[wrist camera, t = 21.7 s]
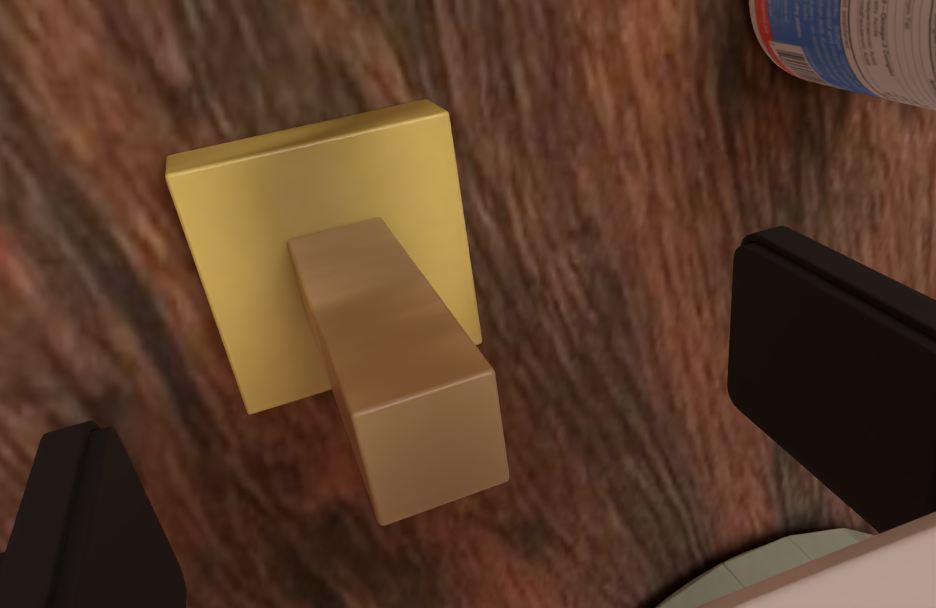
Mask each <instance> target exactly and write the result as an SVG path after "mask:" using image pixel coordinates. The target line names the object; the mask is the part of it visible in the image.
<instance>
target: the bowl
mask: <svg viewBox="0 0 936 608" xmlns="http://www.w3.org/2000/svg"><path fill="white" fill-rule="evenodd" d="M873 536H875V535H872V534H868V533H863V532H859V531H855V530H851V529H847V528H838V529H831V530H824V531H817V532H810V533H803V534H796V535H789V536H788V537H783V538H781V539H779V540H776V541H774V542H771V543H769V544H766V545H763V546H760V547H757V548H755V549H752V550H749V551H746V552H744V553H741V554H739V555H737V556H735V557H733V558H731V559H729V560H727V561H725V562H722V563H720V564H718V565H717V566H715V567H713V568H712V569H710V570H708V571H706V572H705V573H703V574H701V575H699V576H698V577H696V578H694V579H693V580H692V581H690V582H689V583H687V584H686V585H684V586H683V587H681V588H680V589H678V590H677V591H676V592H674V593H673V594H671V595H670V596H669V597H668V598H666V599H665V600H664V601H663V602H661V603H660V604H659V605H658V606H656V607H655V608H695V607H698V606H700V605H703V604H705V603H708V602H710V601H713V600H715V599H718V598H720V597H723V596H725V595H728V594H730V593H733V592H735V591H738V590H740V589H743V588H745V587H748V586H750V585H753V584H755V583H758V582H760V581H763V580H765V579H768V578H770V577H773V576H775V575H778V574H780V573H782V572H785V571H787V570H790V569H792V568H795V567H797V566H800V565H802V564H805V563H807V562H810V561H812V560H815V559H817V558H820V557H822V556H825V555H827V554H830V553H833V552H835V551H838V550H840V549H843V548H845V547H848V546H850V545H853V544H855V543H858V542H860V541H863V540H865V539H868V538H870V537H873Z"/></svg>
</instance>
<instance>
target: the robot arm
mask: <svg viewBox="0 0 936 608" xmlns="http://www.w3.org/2000/svg"><path fill="white" fill-rule="evenodd" d="M727 388H728V393H729V396H730V398H731V401H732V402H733V404H734V405H735V406H736V407H737V408H738V409H739V410H740V411H741V412H742V413H743V414H744V415H745V416H747V417H748V418H749V419H750V420H751V421H752V422H753V423H755V424H756V425H757V426H758V427H759V428H760V429H761V430H763V431H764V432H765V433H766V434H767V435H768V436H769V437H771V438H772V439H773V440H774V441H775V442H776V443H777V444H779V445H780V446H781V447H782V448H783V449H784V450H785V451H787V452H788V453H789V454H790V455H791V456H792V457H793V458H795V459H796V460H797V461H798V462H799V463H800V464H801V465H802V466H804V467H805V468H806V469H807V470H808V471H809V472H810V473H812V474H813V475H814V476H815V477H816V478H817V479H818V480H820V481H821V482H822V483H823V484H824V485H825V486H826V487H828V488H829V489H830V490H831V491H832V492H833V493H834V494H836V495H837V496H838V497H839V498H840V499H841V500H842V501H844V502H845V503H846V504H847V505H848V506H849V507H850V508H852V509H853V510H854V511H855V512H856V513H857V514H858V515H860V516H861V517H862V518H863V519H864V520H865V521H866V522H868V523H869V524H870V525H871V526H872V527H873V528H874V529H876V530H877V531H878V532H879V533H880V534H878V535H875V536H873V537H870V538H868V539H865V540H863V541H860V542H858V543H855V544H853V545H850V546H848V547H845V548H843V549H840V550H838V551H835V552H833V553H830V554H827V555H825V556H822V557H820V558H817V559H815V560H812V561H810V562H807V563H805V564H802V565H800V566H797V567H795V568H792V569H790V570H787V571H785V572H782V573H780V574H778V575H775V576H773V577H770V578H768V579H765V580H763V581H760V582H758V583H755V584H753V585H750V586H748V587H745V588H743V589H740V590H738V591H735V592H733V593H730V594H728V595H725V596H723V597H720V598H718V599H715V600H713V601H710V602H708V603H705V604H703V605H700V606H698V607H695V608H936V300H934V299H932V298H930V297H928V296H926V295H924V294H922V293H920V292H918V291H916V290H913V289H911V288H909V287H907V286H905V285H903V284H901V283H899V282H897V281H895V280H893V279H891V278H889V277H887V276H885V275H883V274H881V273H879V272H877V271H875V270H873V269H871V268H869V267H867V266H865V265H863V264H861V263H859V262H857V261H855V260H853V259H851V258H849V257H847V256H845V255H843V254H841V253H839V252H837V251H834V250H832V249H830V248H828V247H826V246H824V245H822V244H820V243H818V242H816V241H814V240H812V239H810V238H808V237H806V236H804V235H802V234H800V233H798V232H796V231H794V230H792V229H790V228H788V227H784V226H778V227H774V228H771V229H767V230H763V231H760V232H756V233H753V234H749V235H747V236H746V237H745V238H744V239H743V241H742V243H741V246H740V247H739V248H737V249H736V251H735V254H734V263H733V282H732V302H731V322H730V341H729V361H728V381H727ZM0 608H186V587H185V581H184V577H183V573H182V570H181V568H180V565H179V563H178V561H177V559H176V557H175V555H174V552H173V550H172V548H171V546H170V544H169V542H168V540H167V538H166V535H165V533H164V531H163V529H162V527H161V525H160V523H159V520H158V518H157V516H156V514H155V512H154V510H153V508H152V505H151V503H150V501H149V499H148V497H147V495H146V493H145V490H144V488H143V486H142V484H141V482H140V480H139V478H138V475H137V473H136V471H135V469H134V467H133V465H132V463H131V460H130V458H129V456H128V454H127V452H126V450H125V448H124V445H123V443H122V441H121V439H120V437H119V435H118V433H117V431H116V430H115V429H114V428H113V427H111V426H110V427H107V428H103V429H100V428H99V426H98V425H97V424H96V423H95V422H94V421H87V422H84V423H80V424H77V425H73V426H70V427H66V428H63V429H59V430H55V431H52V432H48V433H46V434H44V435H43V437H42V438H41V441H40V444H39V447H38V450H37V454H36V457H35V460H34V463H33V466H32V470H31V473H30V476H29V479H28V482H27V485H26V489H25V492H24V495H23V498H22V501H21V505H20V508H19V511H18V514H17V517H16V520H15V524H14V527H13V530H12V533H11V536H10V539H9V543H8V546H7V549H6V552H3V553H0Z"/></svg>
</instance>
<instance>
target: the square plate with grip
mask: <svg viewBox="0 0 936 608" xmlns="http://www.w3.org/2000/svg"><path fill="white" fill-rule="evenodd" d="M165 179H166V182H167V185H168V188H169V191H170V194H171V196H172V199H173V202H174V205H175V208H176V211H177V214H178V216H179V219H180V222H181V225H182V228H183V231H184V234H185V236H186V239H187V242H188V245H189V248H190V251H191V254H192V256H193V259H194V262H195V265H196V268H197V271H198V274H199V276H200V279H201V282H202V285H203V288H204V291H205V294H206V296H207V299H208V302H209V305H210V308H211V311H212V314H213V316H214V319H215V322H216V325H217V328H218V331H219V334H220V336H221V339H222V342H223V345H224V348H225V351H226V354H227V356H228V359H229V362H230V365H231V368H232V371H233V374H234V376H235V379H236V382H237V385H238V388H239V391H240V394H241V396H242V399H243V402H244V405H245V408H246V411H247V413H248V414H254V413H257V412H261V411H264V410H267V409H270V408H274V407H277V406H280V405H283V404H287V403H290V402H293V401H296V400H300V399H303V398H306V397H309V396H313V395H316V394H319V393H322V392H325V391H329V390H332V391H333V394H334V397H335V400H336V403H337V406H338V409H339V412H340V414H341V417H342V420H343V423H344V426H345V429H346V432H347V435H348V438H349V440H350V443H351V446H352V449H353V452H354V455H355V458H356V461H357V464H358V467H359V469H360V472H361V475H362V478H363V481H364V484H365V487H366V490H367V493H368V495H369V498H370V501H371V504H372V507H373V510H374V513H375V516H376V519H377V521H378V523H379V524H380V525H381V526H385V525H388V524H391V523H394V522H397V521H399V520H402V519H405V518H408V517H410V516H413V515H416V514H419V513H422V512H424V511H427V510H430V509H433V508H435V507H438V506H441V505H444V504H447V503H449V502H452V501H455V500H458V499H460V498H463V497H466V496H469V495H472V494H474V493H477V492H480V491H483V490H485V489H488V488H491V487H494V486H497V485H499V484H502V483H505V482H507V481H508V480H509V469H508V462H507V454H506V447H505V440H504V433H503V426H502V419H501V411H500V404H499V397H498V390H497V383H496V376H495V371H494V369H493V368H492V367H491V365H490V364H489V363H488V361H487V360H486V358H485V357H484V356H483V354H482V353H481V352H480V350H479V349H478V348H477V346H476V345H478V344H481V343H482V336H481V329H480V322H479V315H478V308H477V302H476V295H475V288H474V281H473V274H472V267H471V261H470V254H469V247H468V240H467V233H466V226H465V219H464V213H463V206H462V199H461V192H460V185H459V178H458V172H457V165H456V158H455V151H454V144H453V137H452V131H451V124H450V117H449V113H448V111H446V110H444V109H443V108H441V107H440V106H438V105H436V104H435V103H433V102H431V101H430V100H428V99H424V100H419V101H415V102H410V103H406V104H401V105H396V106H392V107H387V108H383V109H378V110H374V111H369V112H364V113H360V114H355V115H351V116H346V117H342V118H337V119H332V120H328V121H323V122H319V123H314V124H310V125H305V126H300V127H296V128H291V129H287V130H282V131H278V132H273V133H269V134H264V135H259V136H255V137H250V138H246V139H241V140H237V141H232V142H227V143H223V144H218V145H214V146H209V147H205V148H200V149H195V150H191V151H186V152H182V153H177V154H173V155H169V156H167V157H166V171H165Z"/></svg>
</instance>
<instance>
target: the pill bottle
mask: <svg viewBox="0 0 936 608" xmlns="http://www.w3.org/2000/svg"><path fill="white" fill-rule="evenodd" d="M749 10H750V16H751V21H752V25H753V29H754V32H755V34H756V37H757V39H758V41H759V43H760V45H761V47H762V48H763V50H764V51H765V53H766V54H767V55H768V56H769V58H770V59H771V60H772V61H773V62H774V63H775V64H776V65H777V66H779V67H780V68H781V69H783V70H784V71H786V72H788V73H789V74H791V75H793V76H796V77H798V78H800V79H803V80H806V81H810V82H815V83H819V84H822V85H826V86H830V87H834V88H839V89H843V90H848V91H853V92H857V93H861V94H865V95H870V96H875V97H879V98H884V99H887V100H892V101H896V102H900V103H905V104H909V105H914V106H918V107H923V108H927V109H932V110H936V0H749Z"/></svg>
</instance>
